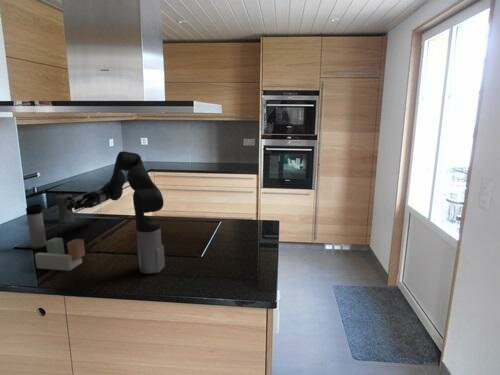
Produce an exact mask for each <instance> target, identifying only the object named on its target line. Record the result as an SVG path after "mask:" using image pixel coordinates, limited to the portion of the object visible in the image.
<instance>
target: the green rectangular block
mask: <svg viewBox="0 0 500 375" xmlns="http://www.w3.org/2000/svg"><path fill="white" fill-rule="evenodd" d="M64 246H65V245H64V239H63V238H62V237H53V238H51V239H49V240H46V246H45V247H46V253H52V254H61V253H65V247H64Z"/></svg>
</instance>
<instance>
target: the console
mask: <svg viewBox="0 0 500 375" xmlns="http://www.w3.org/2000/svg"><path fill="white" fill-rule="evenodd" d="M82 258H83V257H81V258H79V259H72V258H71V255H68V254H67V253H65V252H64V253H61V254H52V253H47V252H36V253H35V254H34V259H35V264H36V269H43V270H44V269H45V270H57V271H67V272H69V271H72V270H73V269H74V268H77V267H78V266H79V265H81V264H82V263H83V259H82Z"/></svg>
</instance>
